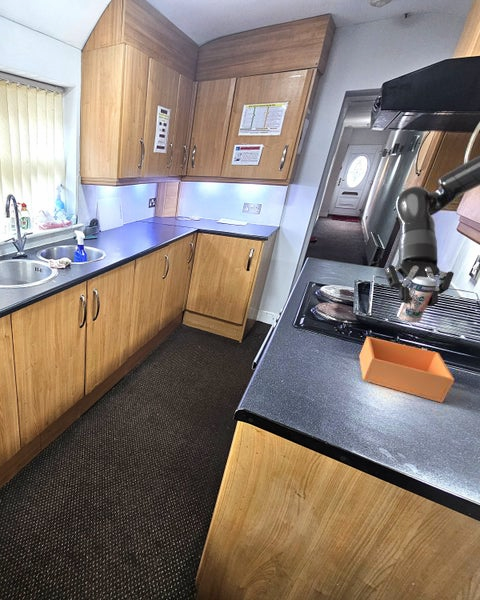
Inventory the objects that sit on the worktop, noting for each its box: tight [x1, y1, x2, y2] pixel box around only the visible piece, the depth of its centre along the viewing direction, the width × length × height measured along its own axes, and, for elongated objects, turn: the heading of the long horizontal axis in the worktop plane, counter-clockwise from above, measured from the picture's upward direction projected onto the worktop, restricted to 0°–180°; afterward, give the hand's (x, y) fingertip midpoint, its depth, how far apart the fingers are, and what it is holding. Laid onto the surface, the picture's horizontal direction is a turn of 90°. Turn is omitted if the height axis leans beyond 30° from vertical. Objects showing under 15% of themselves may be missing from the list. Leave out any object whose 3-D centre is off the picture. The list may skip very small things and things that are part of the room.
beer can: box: [396, 277, 438, 323], centre depth 88 cm, size 5×5×12 cm
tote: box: [358, 336, 455, 404], centre depth 88 cm, size 15×15×7 cm
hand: (418, 303), depth 87 cm, fingers closed on beer can, 4 cm apart
